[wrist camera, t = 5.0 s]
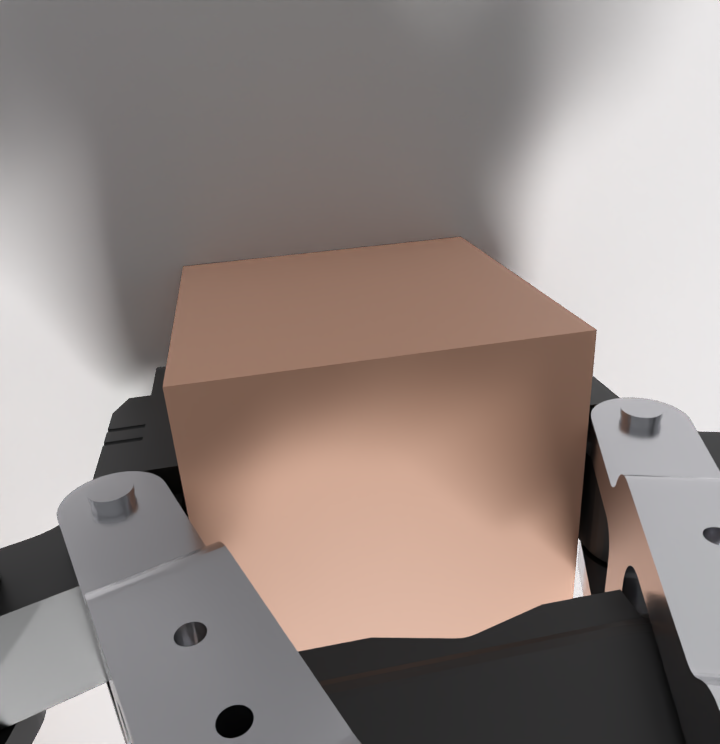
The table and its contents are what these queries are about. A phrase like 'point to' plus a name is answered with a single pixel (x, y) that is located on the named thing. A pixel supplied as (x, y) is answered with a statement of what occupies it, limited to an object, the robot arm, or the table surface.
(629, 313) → the table surface
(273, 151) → the table surface
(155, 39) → the table surface
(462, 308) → the terracotta cube
